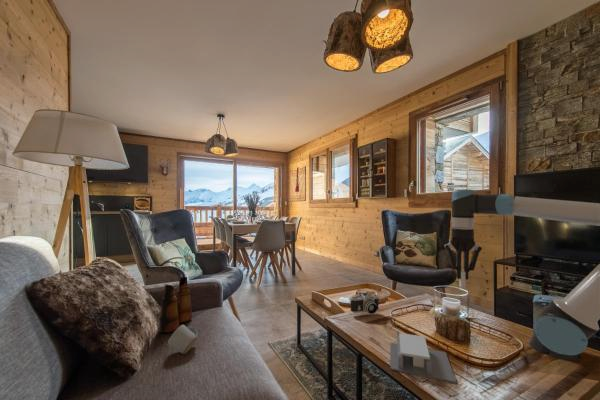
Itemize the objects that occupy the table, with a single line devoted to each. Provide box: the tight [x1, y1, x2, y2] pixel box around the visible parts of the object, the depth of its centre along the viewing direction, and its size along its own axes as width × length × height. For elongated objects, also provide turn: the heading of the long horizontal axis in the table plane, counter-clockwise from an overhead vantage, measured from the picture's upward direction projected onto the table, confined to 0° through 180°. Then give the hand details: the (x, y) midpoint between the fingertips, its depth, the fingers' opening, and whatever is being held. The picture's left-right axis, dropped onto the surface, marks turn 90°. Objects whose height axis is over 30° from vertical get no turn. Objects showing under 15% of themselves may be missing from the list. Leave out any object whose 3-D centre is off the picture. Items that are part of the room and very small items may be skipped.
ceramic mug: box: [167, 324, 198, 355], centre depth 100 cm, size 11×8×8 cm
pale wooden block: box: [412, 357, 424, 368], centre depth 94 cm, size 3×9×3 cm, turn 161°
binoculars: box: [158, 276, 193, 334], centre depth 122 cm, size 18×8×20 cm, turn 169°
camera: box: [350, 292, 380, 315], centre depth 136 cm, size 16×9×10 cm, turn 103°
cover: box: [399, 332, 430, 360], centre depth 94 cm, size 9×14×1 cm, turn 161°
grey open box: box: [389, 330, 457, 384], centre depth 94 cm, size 20×17×6 cm
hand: (462, 287), depth 102 cm, fingers closed
